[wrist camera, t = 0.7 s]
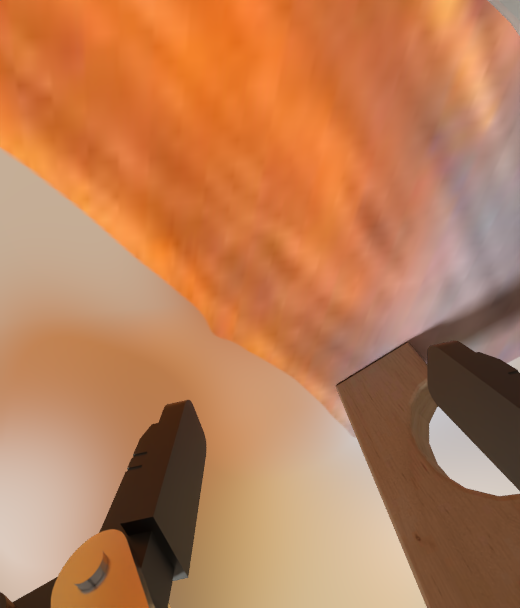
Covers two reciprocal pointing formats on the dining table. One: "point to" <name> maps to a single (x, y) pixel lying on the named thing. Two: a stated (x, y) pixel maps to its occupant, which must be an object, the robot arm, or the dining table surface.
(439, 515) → the decorative block
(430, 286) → the dining table surface
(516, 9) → the kitchen cleaver
